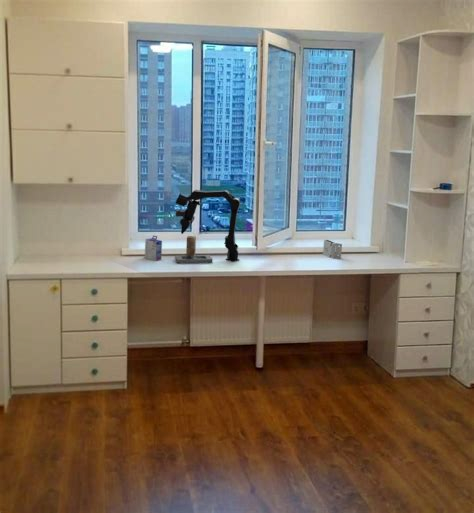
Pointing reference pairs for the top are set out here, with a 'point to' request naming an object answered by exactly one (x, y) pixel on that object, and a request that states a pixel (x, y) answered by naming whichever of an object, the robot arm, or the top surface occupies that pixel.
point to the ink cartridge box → (153, 248)
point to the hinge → (332, 249)
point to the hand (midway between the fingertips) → (183, 232)
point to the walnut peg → (191, 246)
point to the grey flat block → (193, 259)
